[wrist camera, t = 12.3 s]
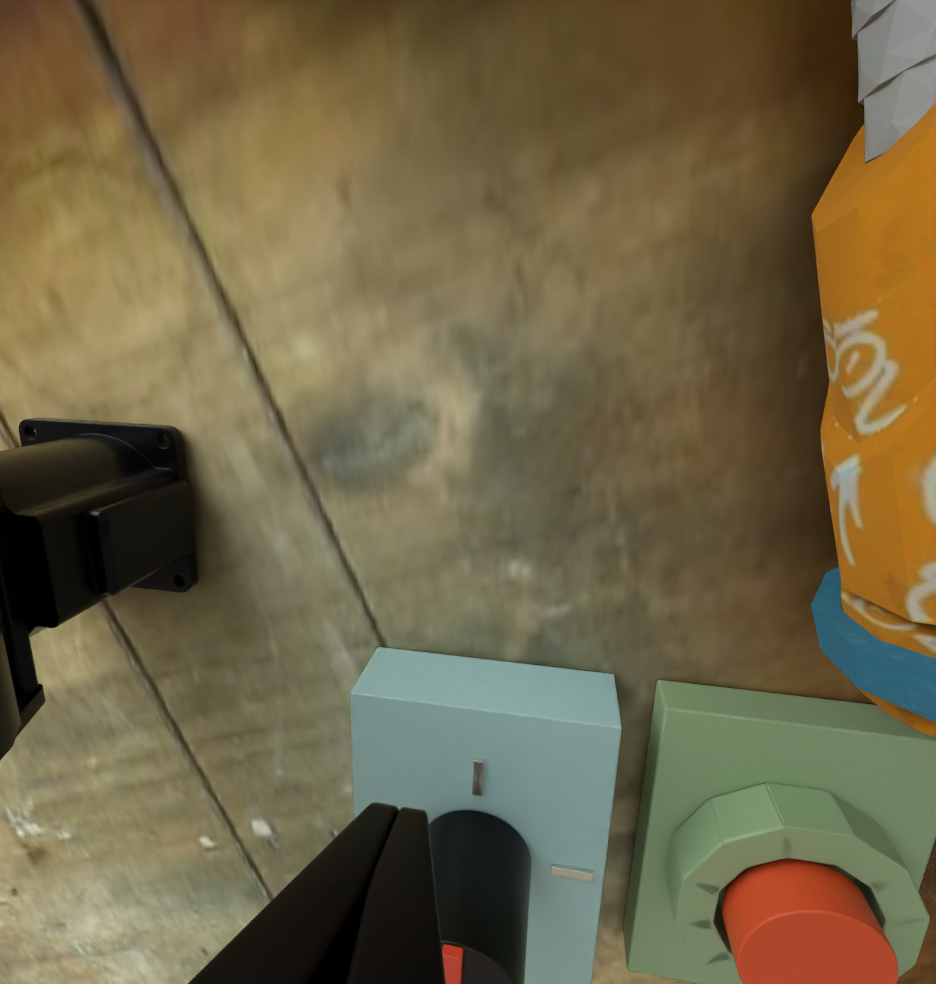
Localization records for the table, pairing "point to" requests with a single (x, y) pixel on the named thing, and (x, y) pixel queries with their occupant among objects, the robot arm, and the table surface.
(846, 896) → the button
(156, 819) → the table surface
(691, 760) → the switch box
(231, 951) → the robot arm
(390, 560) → the table surface
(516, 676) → the dial panel
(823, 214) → the device
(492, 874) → the dial
